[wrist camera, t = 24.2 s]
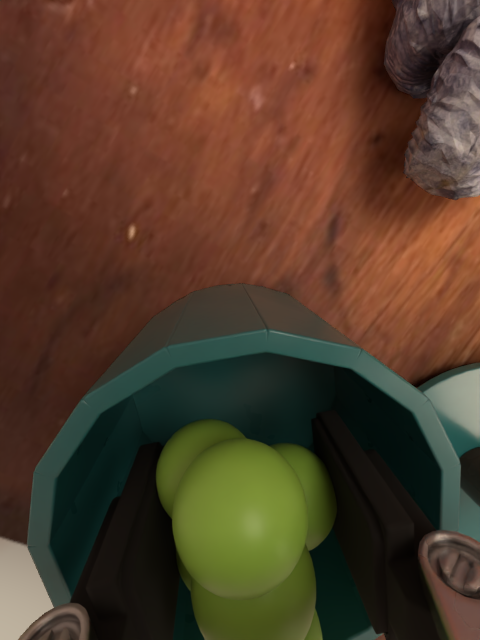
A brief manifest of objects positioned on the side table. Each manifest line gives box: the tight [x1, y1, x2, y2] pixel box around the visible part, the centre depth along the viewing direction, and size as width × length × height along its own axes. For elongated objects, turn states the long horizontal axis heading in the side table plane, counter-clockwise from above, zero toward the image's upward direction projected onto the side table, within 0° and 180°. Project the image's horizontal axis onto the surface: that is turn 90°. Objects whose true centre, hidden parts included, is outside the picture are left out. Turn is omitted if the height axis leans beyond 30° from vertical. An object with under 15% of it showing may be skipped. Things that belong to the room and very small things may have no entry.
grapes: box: [156, 419, 337, 640], centre depth 7 cm, size 6×5×4 cm
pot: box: [27, 283, 461, 640], centre depth 11 cm, size 10×10×8 cm
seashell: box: [384, 0, 480, 200], centre depth 9 cm, size 5×5×10 cm
